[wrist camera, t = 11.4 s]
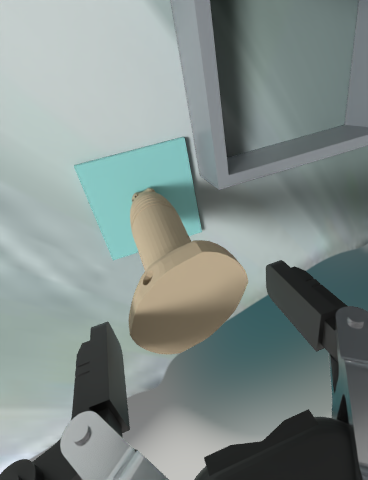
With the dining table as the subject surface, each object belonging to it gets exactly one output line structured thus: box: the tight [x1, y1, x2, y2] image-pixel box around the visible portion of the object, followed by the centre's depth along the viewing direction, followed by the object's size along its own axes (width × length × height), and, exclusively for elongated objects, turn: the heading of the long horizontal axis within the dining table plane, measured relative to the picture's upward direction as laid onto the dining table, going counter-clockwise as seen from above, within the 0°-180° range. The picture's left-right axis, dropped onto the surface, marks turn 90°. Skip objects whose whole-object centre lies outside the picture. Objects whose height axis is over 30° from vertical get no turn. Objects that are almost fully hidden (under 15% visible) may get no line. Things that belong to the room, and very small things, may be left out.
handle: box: [129, 188, 248, 354], centre depth 19 cm, size 5×6×15 cm
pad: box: [74, 137, 202, 260], centre depth 26 cm, size 10×10×1 cm
